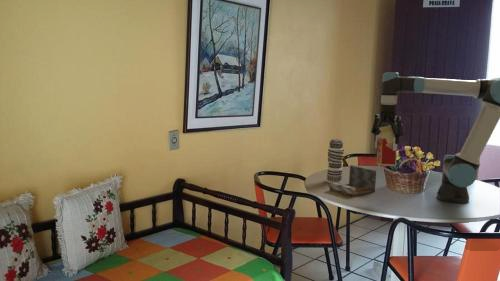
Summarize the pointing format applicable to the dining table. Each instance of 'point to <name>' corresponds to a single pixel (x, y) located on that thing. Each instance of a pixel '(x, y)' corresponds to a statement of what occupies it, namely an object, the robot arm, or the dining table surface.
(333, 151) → the decorative candle
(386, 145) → the milk carton
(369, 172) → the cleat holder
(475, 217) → the dining table surface
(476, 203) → the dining table surface
